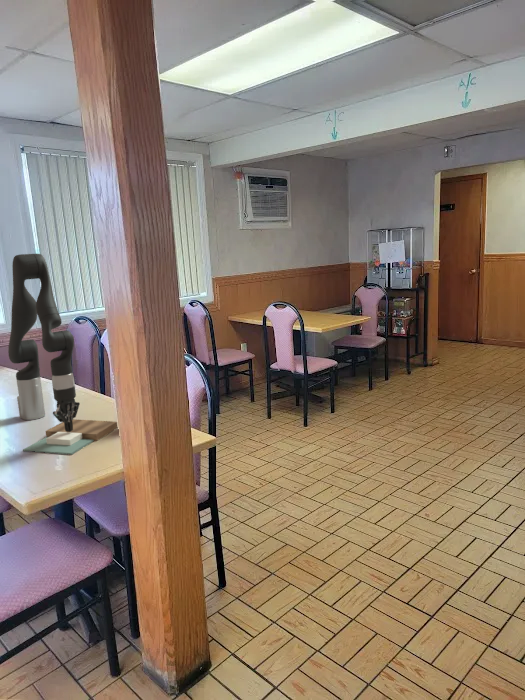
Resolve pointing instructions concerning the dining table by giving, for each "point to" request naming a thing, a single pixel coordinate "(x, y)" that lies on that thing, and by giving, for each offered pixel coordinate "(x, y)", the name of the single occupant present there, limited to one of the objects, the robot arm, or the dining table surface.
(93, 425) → the board
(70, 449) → the rubber mat
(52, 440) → the plastic block
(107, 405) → the dining table surface
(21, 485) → the dining table surface
